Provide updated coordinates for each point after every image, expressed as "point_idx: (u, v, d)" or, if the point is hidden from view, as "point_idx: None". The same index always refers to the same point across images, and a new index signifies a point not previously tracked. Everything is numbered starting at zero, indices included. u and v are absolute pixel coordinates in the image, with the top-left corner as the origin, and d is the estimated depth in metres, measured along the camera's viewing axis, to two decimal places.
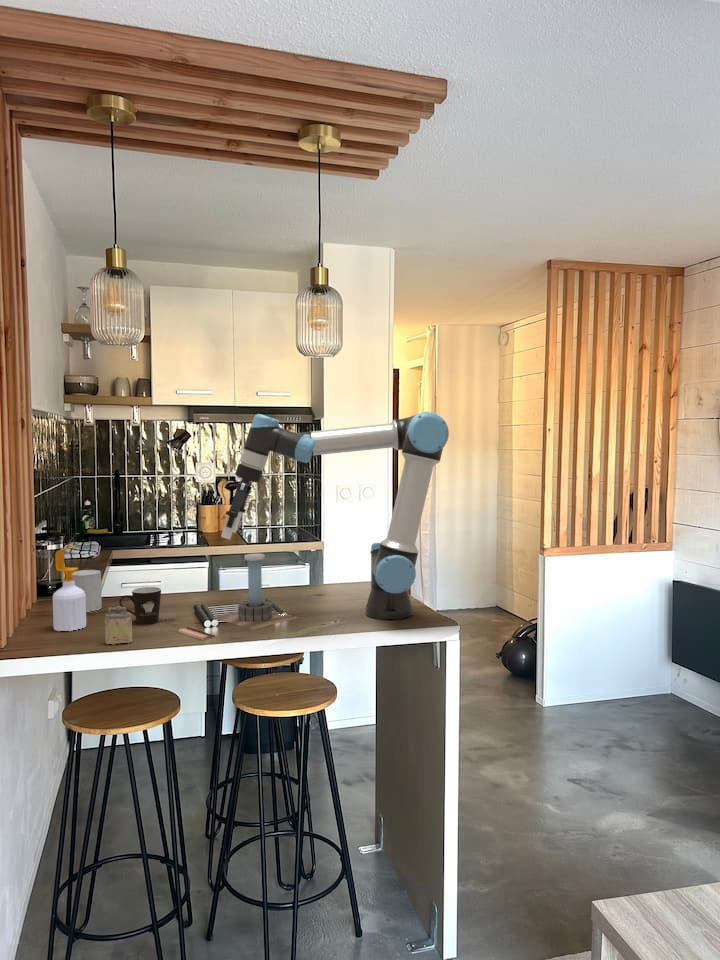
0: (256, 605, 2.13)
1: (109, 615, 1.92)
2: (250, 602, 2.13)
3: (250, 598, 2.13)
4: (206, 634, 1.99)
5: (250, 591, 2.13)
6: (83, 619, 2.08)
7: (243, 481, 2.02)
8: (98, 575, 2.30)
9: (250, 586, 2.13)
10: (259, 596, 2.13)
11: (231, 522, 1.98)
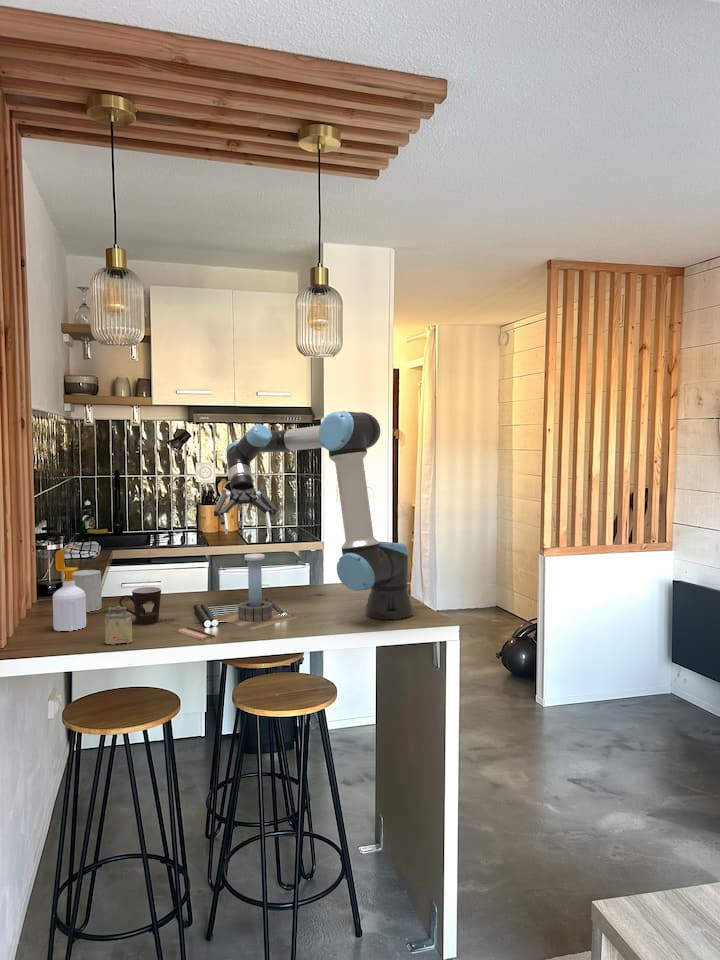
0: (256, 605, 2.13)
1: (109, 615, 1.92)
2: (250, 602, 2.13)
3: (250, 598, 2.13)
4: (206, 634, 1.99)
5: (250, 591, 2.13)
6: (83, 619, 2.08)
7: None
8: (98, 575, 2.30)
9: (250, 586, 2.13)
10: (259, 596, 2.13)
11: None
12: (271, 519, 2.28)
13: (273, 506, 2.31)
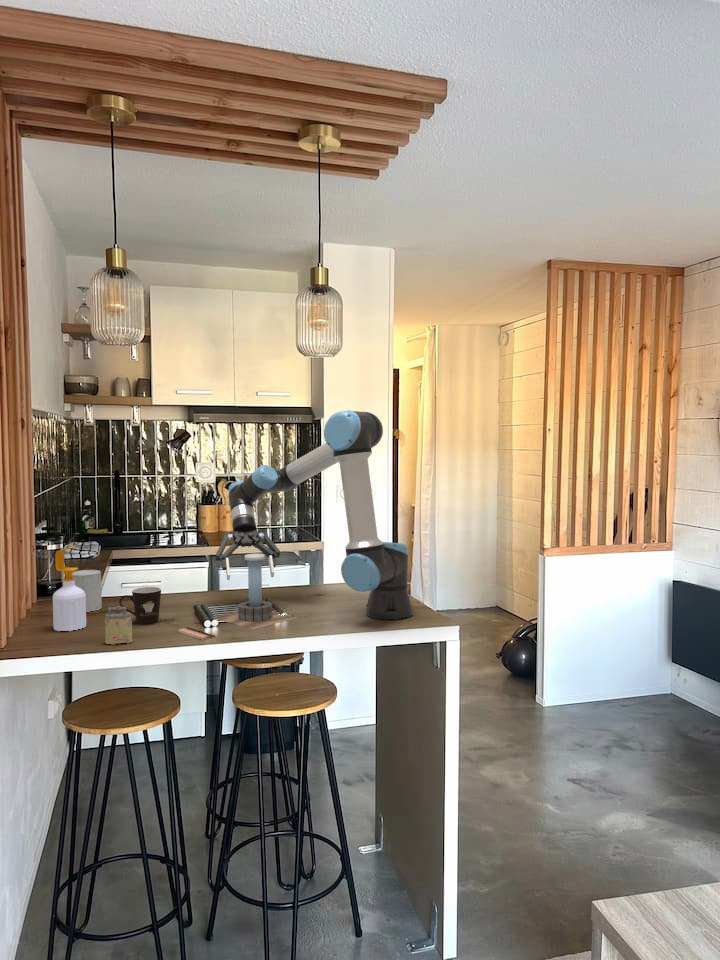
0: (256, 605, 2.13)
1: (109, 615, 1.92)
2: (250, 602, 2.13)
3: (250, 598, 2.13)
4: (206, 634, 1.99)
5: (250, 591, 2.13)
6: (83, 619, 2.08)
7: None
8: (98, 575, 2.30)
9: (250, 586, 2.13)
10: (259, 596, 2.13)
11: None
12: (274, 563, 2.21)
13: (276, 549, 2.24)
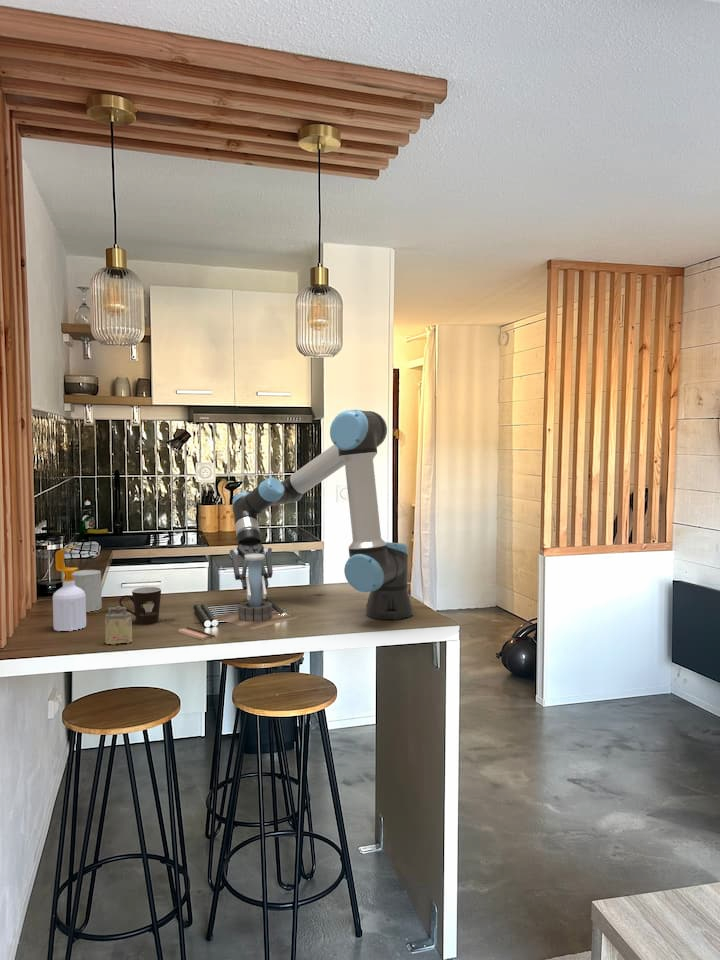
0: (256, 605, 2.13)
1: (109, 615, 1.92)
2: (250, 602, 2.13)
3: (250, 598, 2.13)
4: (206, 634, 1.99)
5: None
6: (83, 619, 2.08)
7: None
8: (98, 575, 2.30)
9: (250, 586, 2.13)
10: (259, 596, 2.13)
11: None
12: (266, 584, 2.14)
13: (270, 569, 2.17)
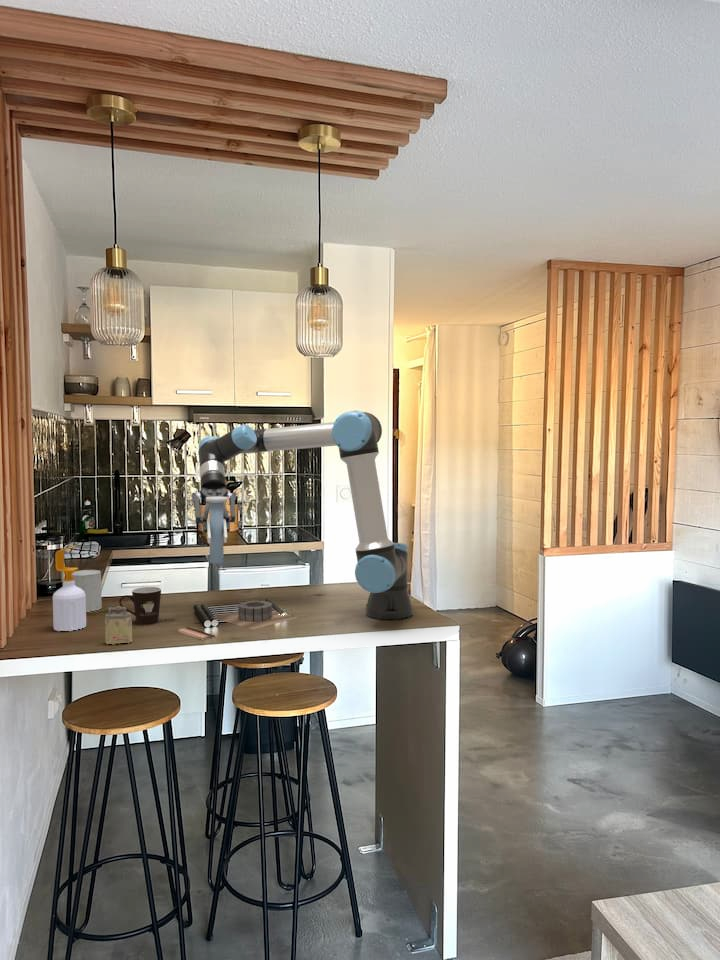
0: (217, 549, 2.05)
1: (109, 615, 1.92)
2: (211, 546, 2.05)
3: (211, 542, 2.05)
4: (206, 634, 1.99)
5: (211, 534, 2.05)
6: (83, 619, 2.08)
7: None
8: (98, 575, 2.30)
9: (211, 529, 2.05)
10: (220, 540, 2.05)
11: None
12: (228, 527, 2.06)
13: (233, 513, 2.09)
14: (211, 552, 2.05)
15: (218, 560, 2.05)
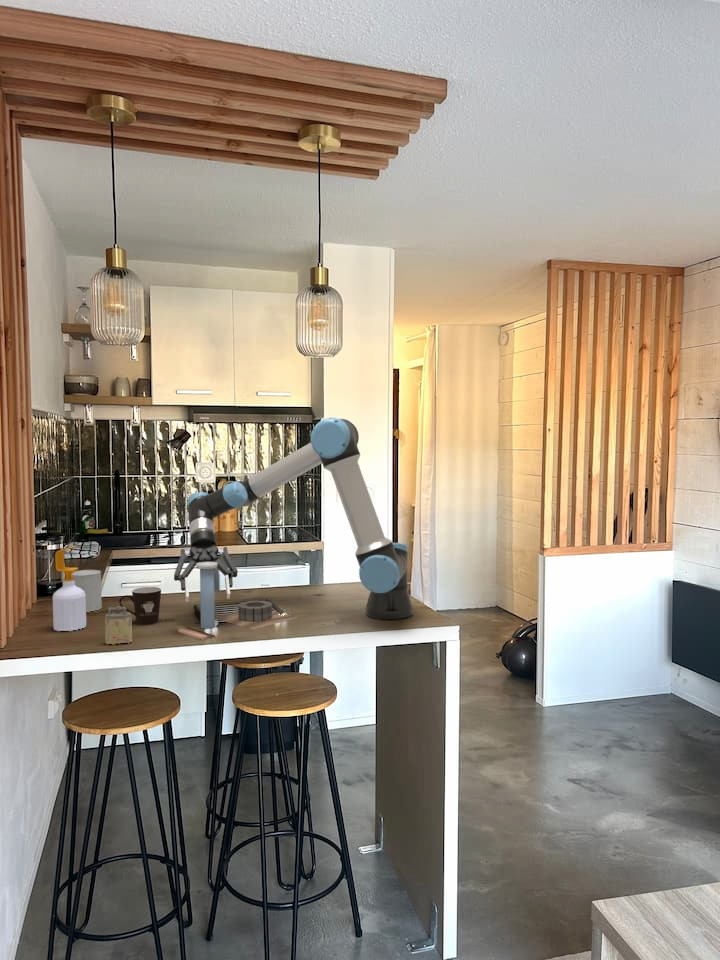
0: (208, 616, 2.03)
1: (109, 615, 1.92)
2: (202, 613, 2.03)
3: (202, 608, 2.03)
4: (206, 634, 1.99)
5: (202, 601, 2.03)
6: (83, 619, 2.08)
7: None
8: (98, 575, 2.30)
9: (202, 596, 2.03)
10: (211, 606, 2.03)
11: None
12: (231, 583, 2.05)
13: (234, 568, 2.09)
14: (202, 619, 2.03)
15: (209, 626, 2.03)
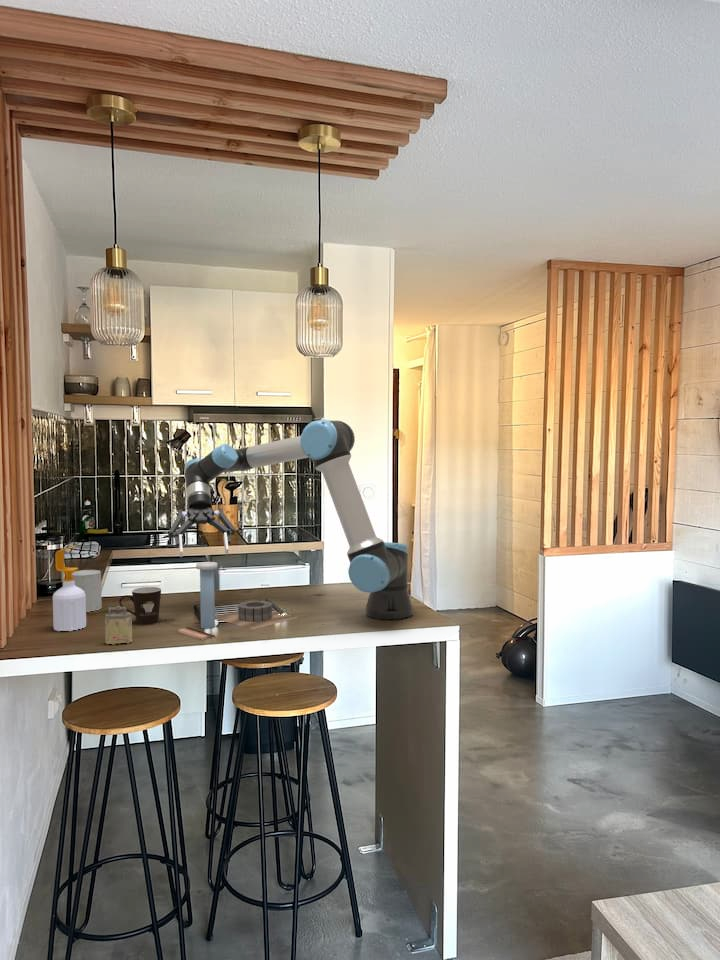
0: (208, 616, 2.03)
1: (109, 615, 1.92)
2: (202, 613, 2.03)
3: (202, 609, 2.03)
4: (206, 634, 1.99)
5: (202, 601, 2.03)
6: (83, 619, 2.08)
7: None
8: (98, 575, 2.30)
9: (202, 596, 2.03)
10: (211, 607, 2.03)
11: None
12: (229, 540, 2.18)
13: (231, 526, 2.21)
14: (202, 619, 2.03)
15: (209, 627, 2.03)
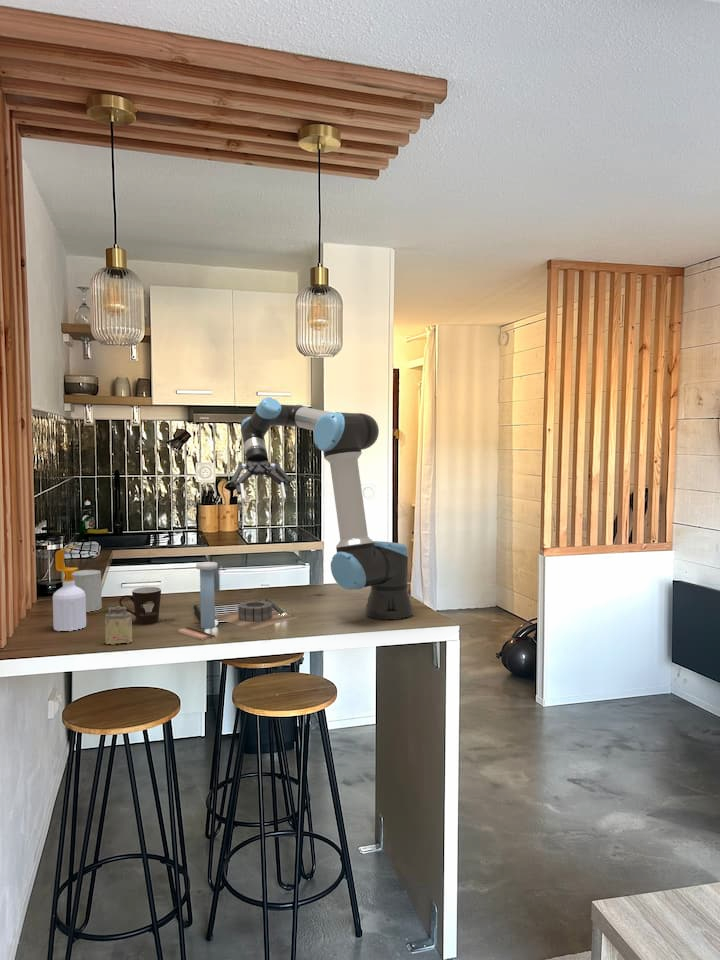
0: (208, 616, 2.03)
1: (109, 615, 1.92)
2: (202, 613, 2.03)
3: (202, 609, 2.03)
4: (206, 634, 1.99)
5: (202, 601, 2.03)
6: (83, 619, 2.08)
7: None
8: (98, 575, 2.30)
9: (202, 596, 2.03)
10: (211, 607, 2.03)
11: (237, 488, 2.32)
12: (286, 489, 2.35)
13: (287, 477, 2.39)
14: (202, 619, 2.03)
15: (209, 627, 2.03)
